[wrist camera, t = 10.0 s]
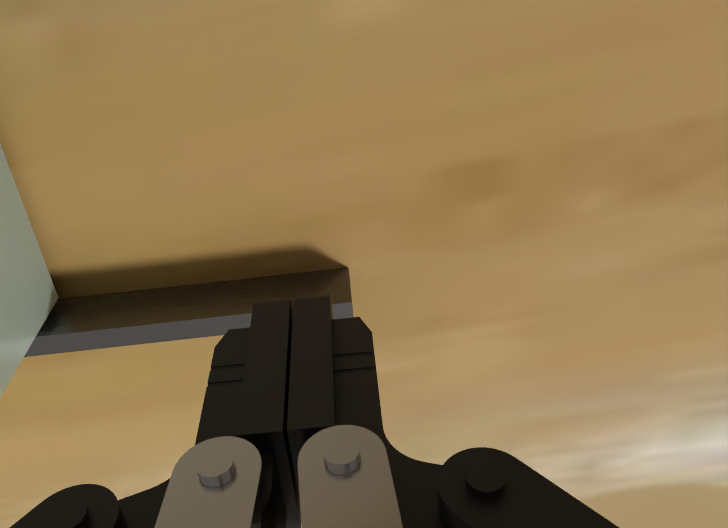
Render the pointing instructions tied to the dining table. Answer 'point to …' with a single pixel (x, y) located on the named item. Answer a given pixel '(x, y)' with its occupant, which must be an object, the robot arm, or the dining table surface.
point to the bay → (178, 311)
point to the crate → (19, 279)
